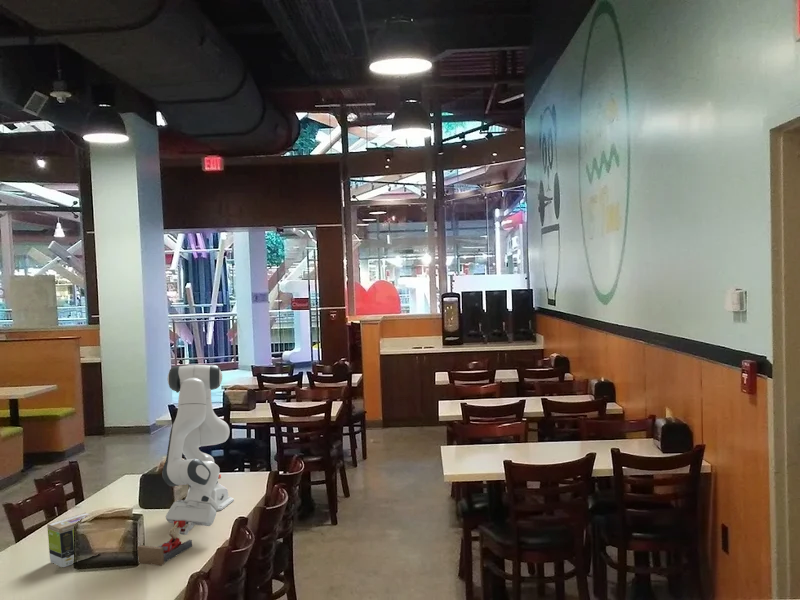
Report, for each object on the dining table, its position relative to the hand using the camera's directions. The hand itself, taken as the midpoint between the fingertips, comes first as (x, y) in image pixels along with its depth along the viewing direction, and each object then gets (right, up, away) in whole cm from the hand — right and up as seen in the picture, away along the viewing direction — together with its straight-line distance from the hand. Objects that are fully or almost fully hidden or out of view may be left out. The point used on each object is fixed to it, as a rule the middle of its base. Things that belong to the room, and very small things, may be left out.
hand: (182, 534), depth 275 cm
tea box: (-37, -7, -8) cm, 39 cm away
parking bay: (-3, -5, -9) cm, 10 cm away
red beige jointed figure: (-2, -5, -5) cm, 7 cm away
